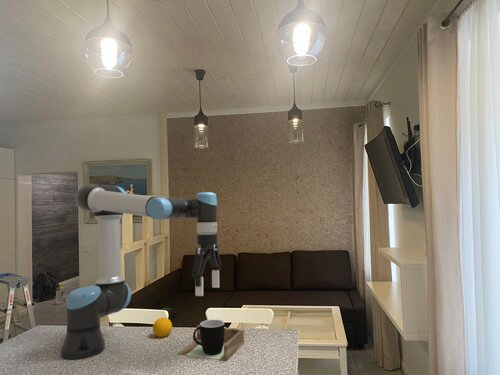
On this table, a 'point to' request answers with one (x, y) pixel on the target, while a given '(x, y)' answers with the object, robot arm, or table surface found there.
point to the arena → (231, 343)
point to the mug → (211, 336)
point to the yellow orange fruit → (162, 327)
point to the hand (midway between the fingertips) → (208, 291)
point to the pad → (199, 353)
